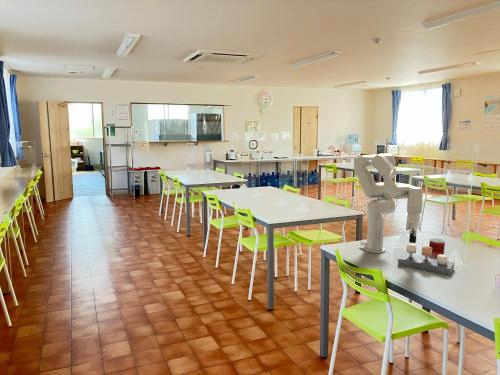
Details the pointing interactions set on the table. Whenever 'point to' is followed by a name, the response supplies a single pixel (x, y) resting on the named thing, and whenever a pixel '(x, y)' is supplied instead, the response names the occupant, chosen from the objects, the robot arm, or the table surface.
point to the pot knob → (426, 252)
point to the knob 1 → (411, 249)
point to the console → (425, 264)
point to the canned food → (437, 247)
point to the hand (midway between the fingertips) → (412, 242)
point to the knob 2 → (442, 259)
